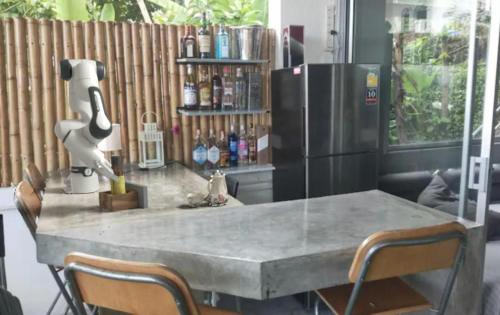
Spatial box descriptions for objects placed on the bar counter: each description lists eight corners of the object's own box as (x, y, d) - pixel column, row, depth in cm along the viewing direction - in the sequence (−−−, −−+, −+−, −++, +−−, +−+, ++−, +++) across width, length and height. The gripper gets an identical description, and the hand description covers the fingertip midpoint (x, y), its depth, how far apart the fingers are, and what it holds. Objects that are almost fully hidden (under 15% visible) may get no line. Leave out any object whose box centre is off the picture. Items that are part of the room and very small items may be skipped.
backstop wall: (119, 200, 210) (118, 180, 209) (123, 200, 212) (122, 180, 210) (144, 208, 195) (143, 186, 194) (148, 207, 196) (147, 186, 195)
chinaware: (214, 198, 220) (210, 166, 219) (242, 198, 213) (239, 165, 211) (181, 211, 195) (177, 175, 194) (213, 212, 188) (209, 174, 186)
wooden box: (99, 207, 198) (98, 192, 197) (124, 202, 207) (123, 188, 206) (112, 212, 189) (112, 196, 188) (137, 206, 198) (137, 191, 197)
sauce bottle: (128, 197, 199) (126, 154, 196) (120, 200, 194) (118, 156, 191) (116, 196, 201) (114, 154, 199) (108, 199, 196) (105, 155, 193)
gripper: (99, 157, 183) (124, 178, 187) (100, 151, 202) (122, 171, 206) (89, 168, 182) (114, 189, 186) (90, 161, 201) (113, 180, 205)
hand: (118, 179), depth 196 cm, fingers closed on sauce bottle, 6 cm apart
